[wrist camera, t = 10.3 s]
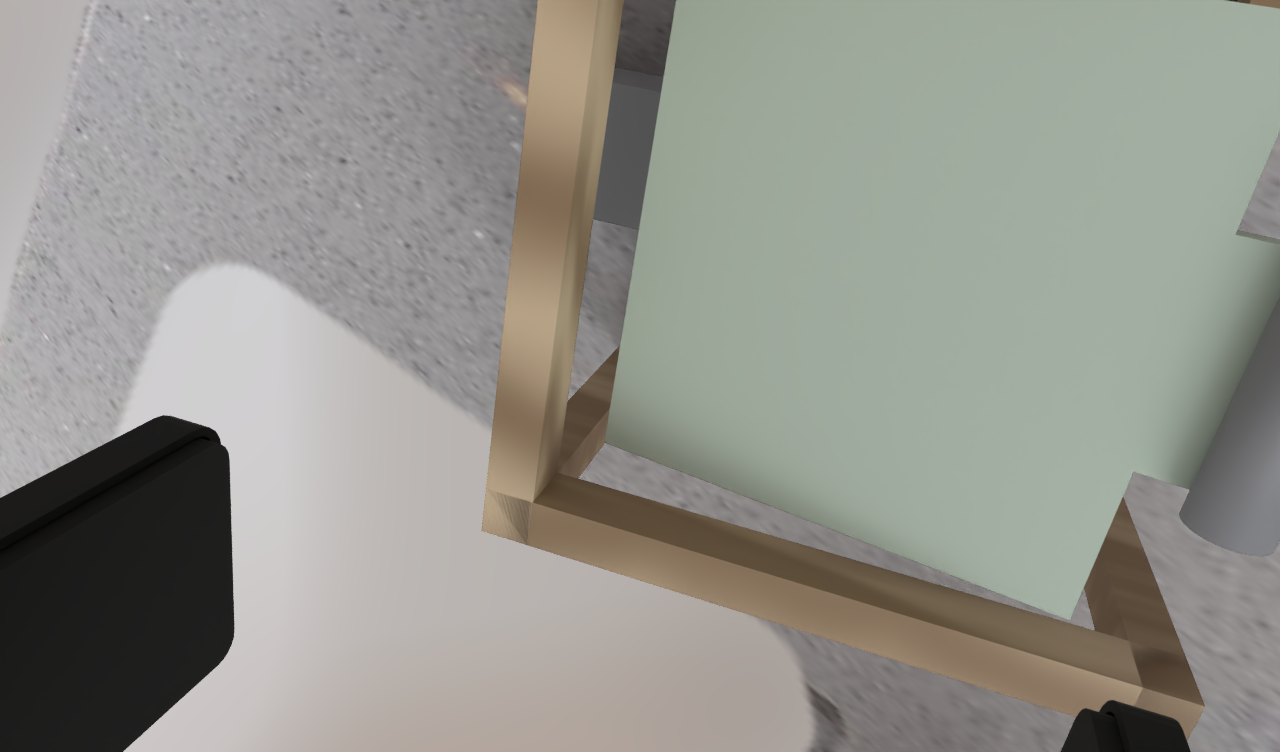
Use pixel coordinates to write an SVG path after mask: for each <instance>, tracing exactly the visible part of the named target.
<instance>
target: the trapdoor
mask: <svg viewBox="0 0 1280 752" xmlns="http://www.w3.org/2000/svg"><path fill="white" fill-rule="evenodd" d="M1279 132H1280V9H1279V8H1272V7H1266V6H1259V5H1252V4H1246V3H1239V2H1233V1H1226V0H676V4H675V10H674V16H673V22H672V29H671V35H670V41H669V47H668V53H667V59H666V66H665V72H664V78H663V84H662V90H661V96H660V103H659V109H658V115H657V121H656V127H655V133H654V140H653V146H652V152H651V158H650V164H649V171H648V177H647V183H646V189H645V195H644V201H643V208H642V214H641V220H640V226H639V232H638V238H637V245H636V251H635V257H634V263H633V269H632V275H631V282H630V288H629V294H628V300H627V306H626V312H625V319H624V325H623V331H622V337H621V343H620V350H619V356H618V362H617V368H616V374H615V380H614V387H613V393H612V399H611V405H610V411H609V417H608V424H607V430H606V436H605V443H607V444H610V445H612V446H615V447H618V448H620V449H623V450H625V451H628V452H631V453H633V454H636V455H638V456H641V457H644V458H646V459H649V460H652V461H654V462H657V463H659V464H662V465H665V466H667V467H670V468H672V469H675V470H678V471H680V472H683V473H686V474H688V475H691V476H693V477H696V478H699V479H701V480H704V481H706V482H709V483H712V484H714V485H717V486H719V487H722V488H725V489H727V490H730V491H733V492H735V493H738V494H740V495H743V496H746V497H748V498H751V499H753V500H756V501H759V502H761V503H764V504H766V505H769V506H772V507H774V508H777V509H780V510H782V511H785V512H787V513H790V514H793V515H795V516H798V517H800V518H803V519H806V520H808V521H811V522H814V523H816V524H819V525H821V526H824V527H827V528H829V529H832V530H834V531H837V532H840V533H842V534H845V535H847V536H850V537H853V538H855V539H858V540H861V541H863V542H866V543H868V544H871V545H874V546H876V547H879V548H881V549H884V550H887V551H889V552H892V553H895V554H897V555H900V556H902V557H905V558H908V559H910V560H913V561H915V562H918V563H921V564H923V565H926V566H928V567H931V568H934V569H936V570H939V571H942V572H944V573H947V574H949V575H952V576H955V577H957V578H960V579H962V580H965V581H968V582H970V583H973V584H975V585H978V586H981V587H983V588H986V589H989V590H991V591H994V592H996V593H999V594H1002V595H1004V596H1007V597H1009V598H1012V599H1015V600H1017V601H1020V602H1023V603H1025V604H1028V605H1030V606H1033V607H1036V608H1038V609H1041V610H1043V611H1046V612H1049V613H1051V614H1054V615H1056V616H1059V617H1062V618H1064V619H1067V620H1070V618H1071V616H1072V614H1073V611H1074V609H1075V607H1076V604H1077V602H1078V600H1079V597H1080V595H1081V593H1082V590H1083V588H1084V586H1085V583H1086V581H1087V579H1088V576H1089V574H1090V572H1091V569H1092V567H1093V565H1094V563H1095V560H1096V558H1097V556H1098V553H1099V551H1100V549H1101V546H1102V544H1103V542H1104V539H1105V537H1106V535H1107V532H1108V530H1109V528H1110V525H1111V523H1112V521H1113V518H1114V516H1115V514H1116V511H1117V509H1118V507H1119V504H1120V502H1121V500H1122V497H1123V495H1124V493H1125V490H1126V488H1127V486H1128V483H1129V481H1130V479H1131V476H1132V474H1133V472H1136V473H1139V474H1142V475H1146V476H1149V477H1152V478H1155V479H1158V480H1161V481H1164V482H1167V483H1170V484H1174V485H1177V486H1180V487H1183V488H1186V489H1189V490H1190V491H1189V494H1188V496H1187V498H1186V500H1185V502H1184V504H1183V507H1182V509H1181V511H1180V514H1179V515H1180V518H1181V520H1182V522H1183V523H1184V524H1185V525H1186V526H1187V527H1188V528H1189V529H1190V530H1192V531H1193V532H1194V533H1196V534H1197V535H1199V536H1200V537H1202V538H1204V539H1205V540H1207V541H1209V542H1211V543H1213V544H1215V545H1218V546H1220V547H1222V548H1225V549H1228V550H1231V551H1234V552H1237V553H1241V554H1245V555H1251V556H1268V555H1271V554H1272V553H1273V552H1274V550H1275V548H1276V546H1277V544H1278V543H1279V541H1280V240H1279V239H1275V238H1271V237H1266V236H1262V235H1258V234H1253V233H1249V232H1244V231H1240V230H1238V227H1239V225H1240V223H1241V220H1242V218H1243V216H1244V213H1245V211H1246V209H1247V206H1248V204H1249V202H1250V199H1251V197H1252V195H1253V192H1254V190H1255V188H1256V185H1257V183H1258V181H1259V178H1260V176H1261V174H1262V171H1263V169H1264V167H1265V164H1266V162H1267V160H1268V157H1269V155H1270V153H1271V150H1272V148H1273V146H1274V143H1275V141H1276V139H1277V136H1278V134H1279Z"/></svg>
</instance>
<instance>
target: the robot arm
mask: <svg viewBox="0 0 1280 752" xmlns="http://www.w3.org/2000/svg"><path fill="white" fill-rule="evenodd" d="M233 638H234V601H233V567H232V535H231V499H230V465H229V454H228V451H227V449H226V448H225V447H224V446H223V445H221V442H220V438H219V436H218V434H217V433H216V431H214V430H213V429H211V428H209V427H206V426H202V425H199V424H196V423H192V422H189V421H186V420H182V419H179V418H176V417H172V416H164V415H163V416H160V417H157V418H154V419H152V420H150V421H148V422H146V423H144V424H143V425H141V426H139V427H137V428H135V429H133V430H131V431H129V432H127V433H125V434H123V435H121V436H119V437H117V438H115V439H114V440H112V441H110V442H108V443H106V444H104V445H102V446H100V447H98V448H96V449H94V450H92V451H90V452H88V453H86V454H85V455H83V456H81V457H79V458H77V459H75V460H73V461H71V462H69V463H67V464H65V465H63V466H61V467H59V468H58V469H56V470H54V471H52V472H50V473H48V474H46V475H44V476H42V477H40V478H38V479H36V480H34V481H32V482H30V483H29V484H27V485H25V486H23V487H21V488H19V489H17V490H15V491H13V492H11V493H9V494H7V495H5V496H3V497H2V498H0V752H123V751H124V750H125V749H126V748H127V747H128V746H130V745H131V744H132V743H133V742H134V741H135V740H136V739H137V738H138V737H140V736H141V735H142V734H143V733H144V732H145V731H146V730H147V729H148V728H149V727H151V725H153V724H154V723H155V722H156V721H157V720H158V719H159V718H160V717H162V716H163V715H164V714H165V713H166V712H167V711H168V710H169V709H170V708H171V707H172V706H173V705H175V704H176V703H177V702H178V701H179V700H180V699H181V698H182V697H184V696H185V695H186V694H187V693H188V692H189V691H190V690H191V689H192V688H193V687H194V686H196V685H197V684H198V683H199V682H200V681H201V680H202V679H203V678H204V677H205V676H207V675H208V674H209V673H210V672H211V671H212V670H213V669H214V668H215V667H217V666H218V665H219V663H220V662H221V661H222V660H223V659H224V657H225V656H226V654H227V653H228V651H229V649H230V647H231V644H232V641H233ZM1061 752H1190V749H1189V746H1188V743H1187V740H1186V737H1185V734H1184V731H1183V729H1182V727H1181V725H1180V723H1179V722H1178V721H1177V720H1175V719H1174V718H1171V717H1168V716H1165V715H1161V714H1158V713H1155V712H1151V711H1148V710H1145V709H1141V708H1138V707H1135V706H1131V705H1128V704H1125V703H1121V702H1118V701H1115V700H1110V701H1107V702H1106V703H1105V704H1104V705H1103V706H1102V707H1101V709H1100V711H1099V712H1097V711H1094V710H1091V709H1087V708H1085V709H1082V710H1081V711H1080V712H1079V713H1078V715H1077V717H1076V719H1075V721H1074V723H1073V725H1072V728H1071V730H1070V732H1069V734H1068V737H1067V739H1066V741H1065V743H1064V746H1063V748H1062V750H1061Z"/></svg>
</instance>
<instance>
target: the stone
mask: <svg viewBox="0 0 1280 752" xmlns="http://www.w3.org/2000/svg"><path fill="white" fill-rule="evenodd" d="M663 78H664V77H661V76H656V75H651V74H646V73H641V72H636V71H631V70H626V69H621V68H616V67H614V74H613V81H612V88H611V95H610V102H609V109H608V117H607V124H606V131H605V138H604V145H603V152H602V159H601V166H600V173H599V180H598V188H597V195H596V202H595V209H594V216H593V219H595V220H599V221H604V222H608V223H612V224H616V225H621V226H625V227H629V228H633V229H638V230H639V226H640V220H641V214H642V208H643V201H644V195H645V189H646V183H647V177H648V171H649V164H650V158H651V152H652V146H653V140H654V133H655V127H656V121H657V115H658V109H659V103H660V96H661V90H662V84H663Z"/></svg>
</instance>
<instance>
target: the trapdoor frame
mask: <svg viewBox="0 0 1280 752" xmlns="http://www.w3.org/2000/svg"><path fill="white" fill-rule="evenodd" d="M1237 2H1239V3H1246V4H1252V5H1259V6H1266V7H1272V8H1279V9H1280V0H1237ZM623 3H624V0H538V4H537V13H536V23H535V32H534V42H533V51H532V61H531V70H530V79H529V89H528V98H527V108H526V117H525V127H524V136H523V145H522V155H521V164H520V174H519V183H518V193H517V202H516V211H515V221H514V230H513V240H512V249H511V259H510V268H509V278H508V287H507V296H506V306H505V315H504V325H503V334H502V344H501V353H500V362H499V372H498V381H497V391H496V400H495V410H494V419H493V428H492V438H491V447H490V457H489V467H488V476H487V485H486V495H485V504H484V513H483V523H482V531H484V532H487V533H490V534H494V535H497V536H500V537H503V538H507V539H510V540H513V541H516V542H519V543H523V544H526V545H529V546H532V547H535V548H538V549H541V550H545V551H548V552H551V553H554V554H557V555H561V556H564V557H567V558H570V559H573V560H577V561H580V562H583V563H586V564H589V565H593V566H596V567H599V568H602V569H605V570H609V571H612V572H615V573H618V574H621V575H624V576H628V577H631V578H634V579H637V580H640V581H644V582H647V583H650V584H653V585H657V586H660V587H663V588H666V589H669V590H672V591H676V592H679V593H682V594H685V595H689V596H691V597H695V598H698V599H701V600H705V601H708V602H711V603H714V604H717V605H721V606H723V607H727V608H730V609H733V610H736V611H739V612H743V613H746V614H749V615H752V616H755V617H758V618H762V619H765V620H768V621H771V622H774V623H778V624H781V625H784V626H787V627H790V628H794V629H797V630H800V631H803V632H806V633H810V634H813V635H816V636H819V637H822V638H826V639H829V640H832V641H835V642H838V643H841V644H845V645H848V646H851V647H854V648H857V649H861V650H864V651H867V652H870V653H873V654H877V655H880V656H883V657H886V658H889V659H893V660H896V661H899V662H902V663H905V664H908V665H912V666H915V667H918V668H921V669H924V670H928V671H931V672H934V673H937V674H940V675H944V676H947V677H950V678H953V679H956V680H960V681H963V682H966V683H969V684H972V685H976V686H979V687H982V688H985V689H988V690H991V691H995V692H998V693H1001V694H1004V695H1007V696H1011V697H1014V698H1017V699H1020V700H1023V701H1027V702H1030V703H1033V704H1036V705H1039V706H1043V707H1046V708H1049V709H1052V710H1055V711H1058V712H1062V713H1065V714H1068V715H1071V716H1074V717H1077V715H1078V713H1079V712H1080V711H1081V710H1082V709H1085V708H1087V709H1091V710H1094V711H1097V712H1099V711H1100V709H1101V707H1102V706H1103V705H1104V704H1105V703H1106V702H1107V701H1110V700H1115V701H1118V702H1121V703H1125V704H1128V705H1131V706H1135V707H1138V708H1141V709H1145V710H1148V711H1151V712H1155V713H1158V714H1161V715H1165V716H1168V717H1171V718H1174V719H1175V720H1177V721H1178V722H1179V723H1180V725H1181V727H1182V729H1183V731H1184V734H1185V737H1186V740H1188V738H1189V736H1190V734H1191V732H1192V731H1193V729H1194V727H1195V725H1196V723H1197V721H1198V719H1199V717H1200V715H1201V713H1202V712H1203V710H1204V708H1205V705H1204V702H1203V700H1202V697H1201V695H1200V692H1199V690H1198V687H1197V684H1196V682H1195V679H1194V677H1193V674H1192V672H1191V669H1190V667H1189V664H1188V661H1187V659H1186V656H1185V654H1184V651H1183V649H1182V646H1181V644H1180V641H1179V638H1178V636H1177V633H1176V631H1175V628H1174V626H1173V623H1172V621H1171V618H1170V615H1169V613H1168V610H1167V608H1166V605H1165V603H1164V600H1163V598H1162V595H1161V592H1160V590H1159V587H1158V585H1157V582H1156V580H1155V577H1154V575H1153V572H1152V569H1151V567H1150V564H1149V562H1148V559H1147V557H1146V554H1145V552H1144V549H1143V546H1142V544H1141V541H1140V539H1139V536H1138V534H1137V531H1136V529H1135V526H1134V524H1133V521H1132V518H1131V516H1130V513H1129V511H1128V508H1127V506H1126V503H1125V501H1124V498H1123V497H1122V500H1121V502H1120V504H1119V507H1118V509H1117V511H1116V514H1115V516H1114V518H1113V521H1112V523H1111V525H1110V528H1109V530H1108V532H1107V535H1106V537H1105V539H1104V542H1103V544H1102V546H1101V549H1100V551H1099V553H1098V556H1097V558H1096V560H1095V563H1094V565H1093V567H1092V569H1091V572H1090V574H1089V576H1088V579H1087V581H1086V583H1085V586H1084V589H1085V593H1086V597H1087V601H1088V605H1089V608H1090V612H1091V616H1092V620H1093V624H1094V627H1095V631H1093V630H1090V629H1087V628H1083V627H1080V626H1076V625H1073V624H1070V623H1066V622H1063V621H1059V620H1056V619H1053V618H1049V617H1046V616H1043V615H1039V614H1036V613H1032V612H1029V611H1026V610H1022V609H1019V608H1015V607H1012V606H1009V605H1005V604H1002V603H998V602H995V601H992V600H988V599H985V598H981V597H978V596H975V595H971V594H968V593H964V592H961V591H958V590H954V589H951V588H947V587H944V586H941V585H937V584H934V583H930V582H927V581H924V580H920V579H917V578H914V577H910V576H907V575H903V574H900V573H897V572H893V571H890V570H886V569H883V568H880V567H876V566H873V565H869V564H866V563H863V562H859V561H856V560H852V559H849V558H846V557H842V556H839V555H835V554H832V553H829V552H825V551H822V550H818V549H815V548H812V547H808V546H805V545H801V544H798V543H795V542H791V541H788V540H785V539H781V538H778V537H774V536H771V535H768V534H764V533H761V532H757V531H754V530H751V529H747V528H744V527H740V526H737V525H734V524H730V523H727V522H723V521H720V520H717V519H713V518H710V517H706V516H703V515H700V514H696V513H693V512H689V511H686V510H683V509H679V508H676V507H672V506H669V505H666V504H662V503H659V502H656V501H652V500H649V499H645V498H642V497H639V496H635V495H632V494H628V493H625V492H622V491H618V490H615V489H611V488H608V487H605V486H601V485H598V484H594V483H591V482H588V481H584V480H581V479H578V478H579V476H580V475H581V474H582V472H583V471H584V470H585V468H586V467H587V466H588V465H589V463H590V462H591V461H592V459H593V458H594V457H595V455H596V454H597V453H598V451H599V450H600V449H601V447H602V446H603V445H604V443H605V436H606V430H607V424H608V417H609V411H610V405H611V399H612V393H613V387H614V380H615V374H616V368H617V362H618V356H619V350H620V346H619V347H618V348H617V349H616V350H615V351H614V353H613V354H612V355H611V356H610V357H609V358H608V359H607V360H606V361H605V362H604V363H603V364H602V365H601V366H600V367H599V369H598V370H597V371H596V372H595V373H594V374H593V375H592V376H591V377H590V378H589V379H588V380H587V381H586V382H585V384H584V385H583V386H582V387H581V388H580V389H579V390H578V391H577V392H576V393H575V394H574V395H573V396H572V397H571V398H570V400H569V401H568V393H569V386H570V379H571V372H572V365H573V358H574V351H575V344H576V337H577V330H578V322H579V315H580V308H581V301H582V294H583V287H584V280H585V273H586V266H587V259H588V251H589V244H590V237H591V230H592V223H593V216H594V209H595V202H596V195H597V188H598V180H599V173H600V166H601V159H602V152H603V145H604V138H605V131H606V124H607V117H608V109H609V102H610V95H611V88H612V81H613V74H614V67H615V60H616V53H617V46H618V38H619V31H620V24H621V17H622V10H623ZM567 401H568V402H567Z"/></svg>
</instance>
